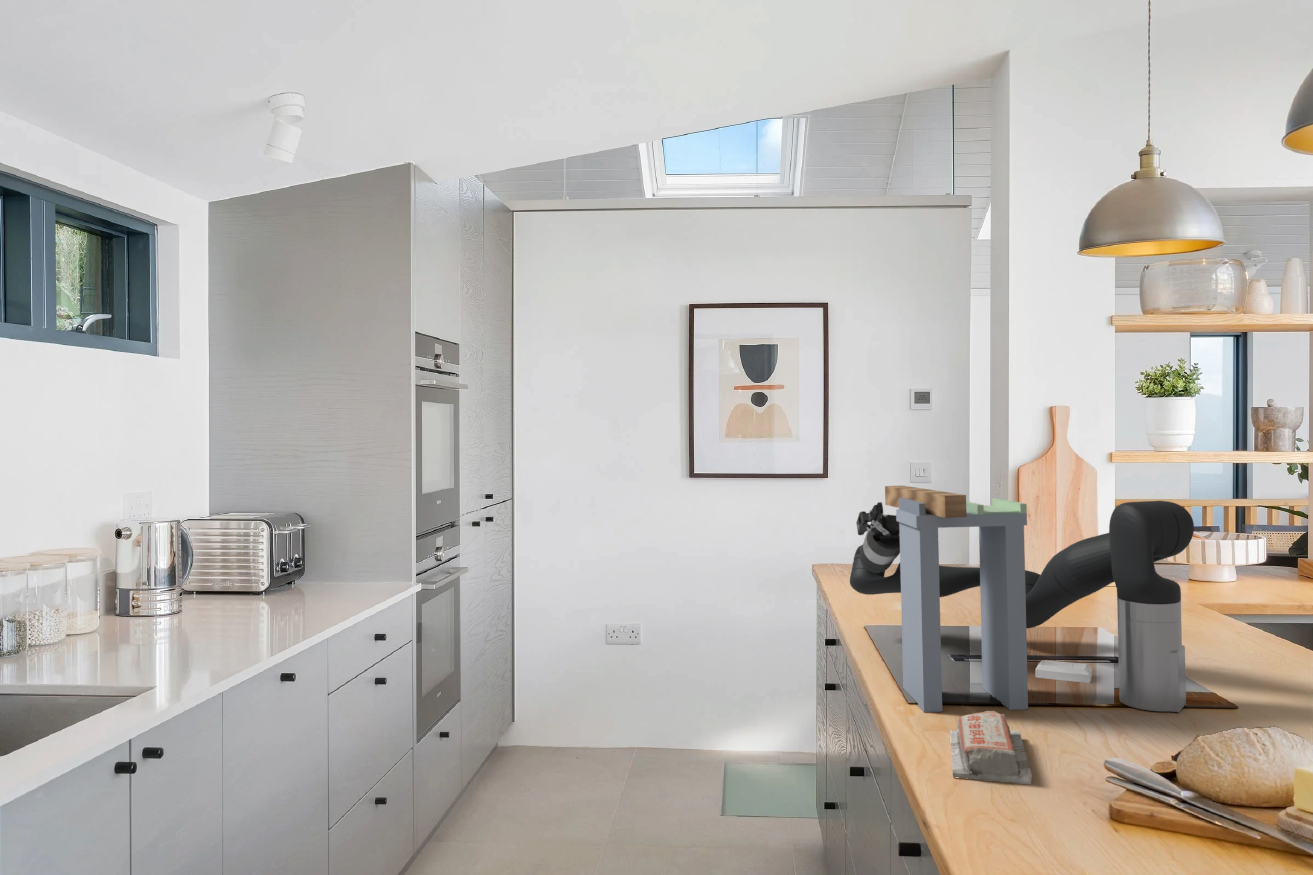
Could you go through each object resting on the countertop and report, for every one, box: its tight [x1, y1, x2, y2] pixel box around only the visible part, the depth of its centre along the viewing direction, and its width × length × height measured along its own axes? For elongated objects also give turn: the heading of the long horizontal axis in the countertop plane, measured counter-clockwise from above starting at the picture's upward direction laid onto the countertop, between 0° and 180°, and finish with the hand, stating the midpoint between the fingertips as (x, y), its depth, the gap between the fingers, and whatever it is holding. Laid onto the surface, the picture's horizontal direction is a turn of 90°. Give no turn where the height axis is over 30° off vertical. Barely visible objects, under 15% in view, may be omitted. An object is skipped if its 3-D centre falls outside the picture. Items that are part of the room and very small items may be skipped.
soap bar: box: [1034, 659, 1093, 684], centre depth 165 cm, size 5×9×3 cm, turn 60°
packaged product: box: [949, 710, 1033, 785], centre depth 126 cm, size 18×5×10 cm
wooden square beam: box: [884, 485, 967, 518], centre depth 155 cm, size 26×4×4 cm, turn 6°
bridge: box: [895, 497, 1029, 713], centre depth 152 cm, size 12×18×34 cm, turn 90°
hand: (903, 506), depth 168 cm, fingers open, 8 cm apart
